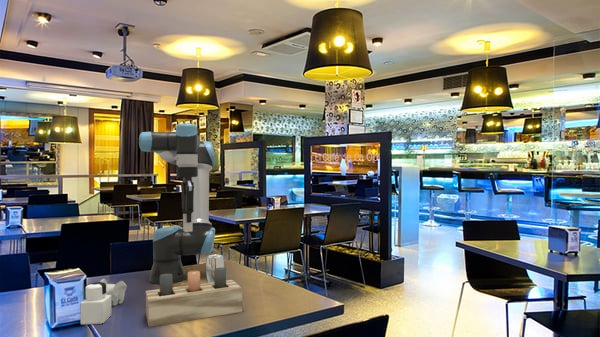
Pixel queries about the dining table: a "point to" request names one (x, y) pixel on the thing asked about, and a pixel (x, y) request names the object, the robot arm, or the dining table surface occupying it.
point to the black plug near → (166, 284)
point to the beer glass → (213, 265)
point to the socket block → (192, 303)
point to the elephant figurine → (115, 292)
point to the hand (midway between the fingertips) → (187, 230)
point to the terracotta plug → (193, 281)
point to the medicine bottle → (95, 304)
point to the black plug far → (219, 278)
